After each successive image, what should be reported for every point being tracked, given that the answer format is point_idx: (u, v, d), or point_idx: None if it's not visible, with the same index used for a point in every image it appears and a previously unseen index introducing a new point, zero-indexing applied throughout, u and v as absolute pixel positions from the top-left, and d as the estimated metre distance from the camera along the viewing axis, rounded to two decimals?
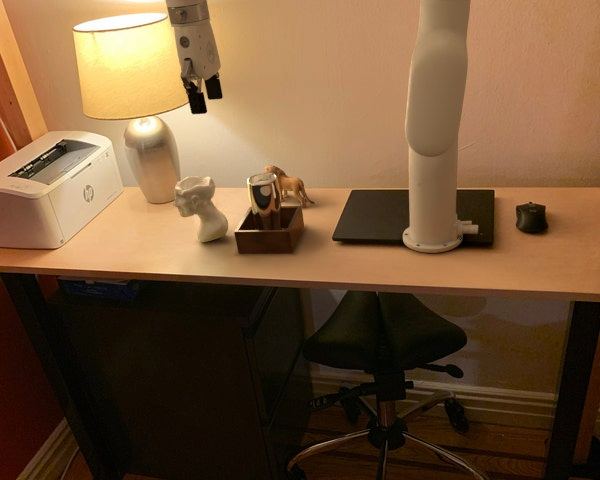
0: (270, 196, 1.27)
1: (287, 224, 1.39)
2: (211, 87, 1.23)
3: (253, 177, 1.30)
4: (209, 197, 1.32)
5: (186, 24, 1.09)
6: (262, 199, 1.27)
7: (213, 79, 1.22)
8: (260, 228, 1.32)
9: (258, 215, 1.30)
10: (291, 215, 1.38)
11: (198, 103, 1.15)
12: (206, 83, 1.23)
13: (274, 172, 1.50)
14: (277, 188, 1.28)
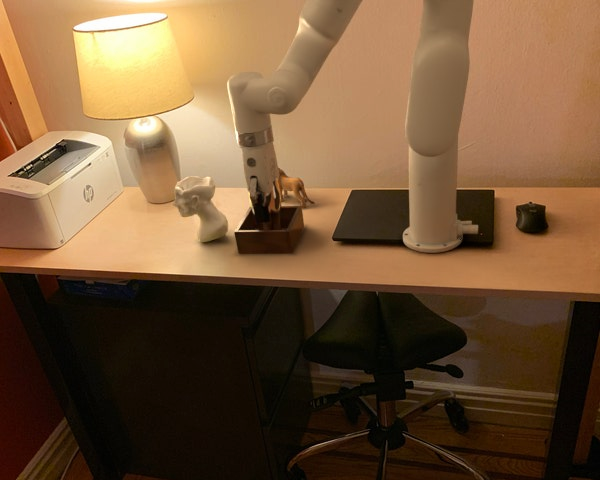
0: (270, 196, 1.27)
1: (287, 224, 1.39)
2: None
3: None
4: (209, 197, 1.32)
5: (253, 147, 1.20)
6: None
7: None
8: (260, 228, 1.32)
9: None
10: (291, 215, 1.38)
11: (263, 214, 1.27)
12: None
13: None
14: (277, 188, 1.28)
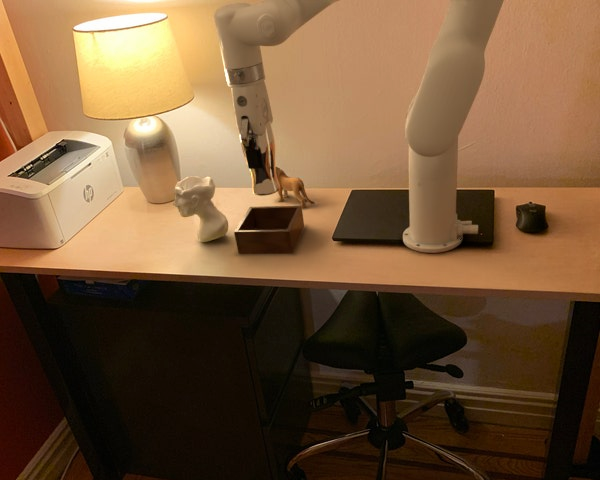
0: (263, 140, 1.20)
1: (287, 224, 1.39)
2: None
3: None
4: (209, 197, 1.32)
5: (243, 84, 1.13)
6: None
7: None
8: (253, 176, 1.25)
9: None
10: (291, 215, 1.38)
11: (256, 159, 1.20)
12: None
13: None
14: (270, 131, 1.21)
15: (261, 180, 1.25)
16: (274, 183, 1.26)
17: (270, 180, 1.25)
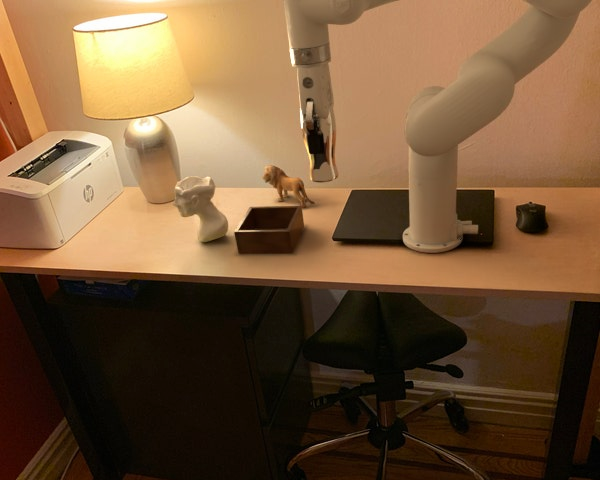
0: (326, 123, 1.15)
1: (287, 224, 1.39)
2: None
3: None
4: (209, 197, 1.32)
5: (310, 65, 1.08)
6: None
7: None
8: (312, 162, 1.21)
9: None
10: (291, 215, 1.38)
11: (318, 144, 1.16)
12: None
13: (274, 172, 1.50)
14: (333, 115, 1.16)
15: (320, 166, 1.20)
16: (333, 170, 1.22)
17: (330, 166, 1.21)
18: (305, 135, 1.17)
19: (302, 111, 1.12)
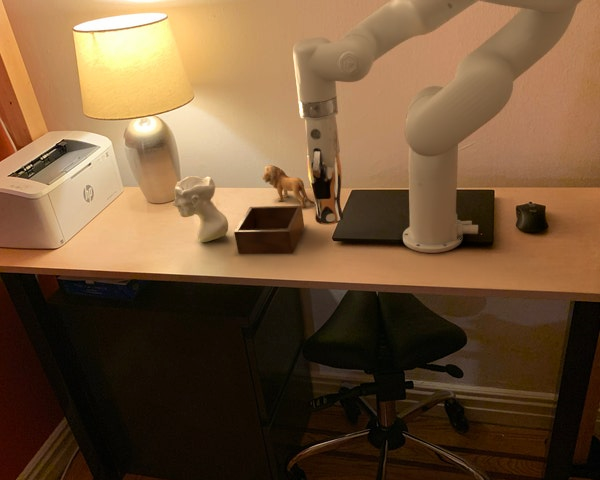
0: (332, 171, 1.20)
1: (287, 224, 1.39)
2: None
3: None
4: (209, 197, 1.32)
5: (318, 118, 1.14)
6: None
7: None
8: (318, 205, 1.26)
9: None
10: (291, 215, 1.38)
11: (324, 190, 1.21)
12: None
13: (274, 172, 1.50)
14: (339, 163, 1.21)
15: (326, 210, 1.26)
16: (338, 212, 1.27)
17: (335, 210, 1.26)
18: (312, 181, 1.23)
19: (310, 160, 1.18)
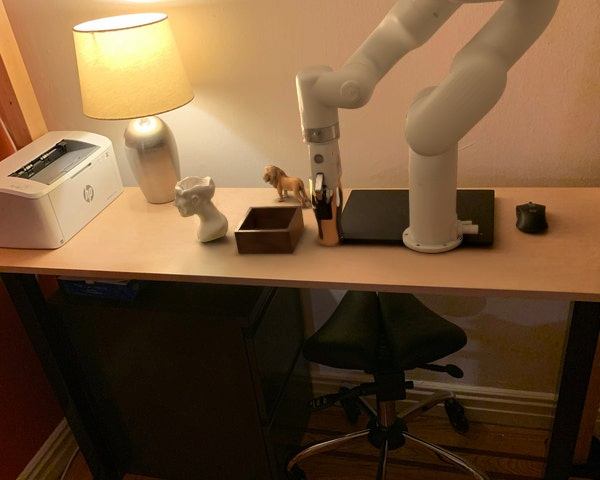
0: (333, 195, 1.23)
1: (287, 224, 1.39)
2: None
3: None
4: (209, 197, 1.32)
5: (321, 143, 1.17)
6: None
7: None
8: (320, 227, 1.29)
9: None
10: (291, 215, 1.38)
11: (326, 211, 1.22)
12: None
13: (274, 172, 1.50)
14: (340, 186, 1.24)
15: (328, 231, 1.29)
16: (340, 234, 1.30)
17: (336, 231, 1.29)
18: (314, 204, 1.26)
19: (313, 183, 1.20)
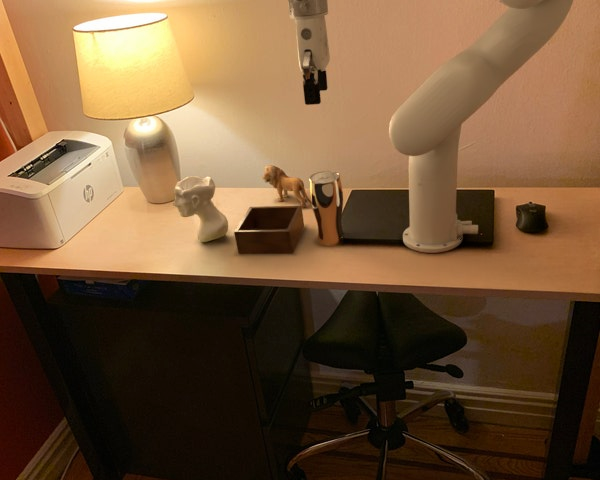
0: (333, 194, 1.23)
1: (287, 224, 1.39)
2: (317, 79, 1.26)
3: (314, 175, 1.26)
4: (209, 197, 1.32)
5: (308, 16, 1.12)
6: (325, 198, 1.24)
7: (320, 71, 1.25)
8: (320, 227, 1.29)
9: (320, 214, 1.26)
10: (291, 215, 1.38)
11: (314, 94, 1.18)
12: (313, 75, 1.26)
13: (274, 172, 1.50)
14: (340, 186, 1.24)
15: (328, 231, 1.29)
16: (340, 234, 1.30)
17: (336, 231, 1.29)
18: (314, 204, 1.26)
19: (300, 63, 1.16)
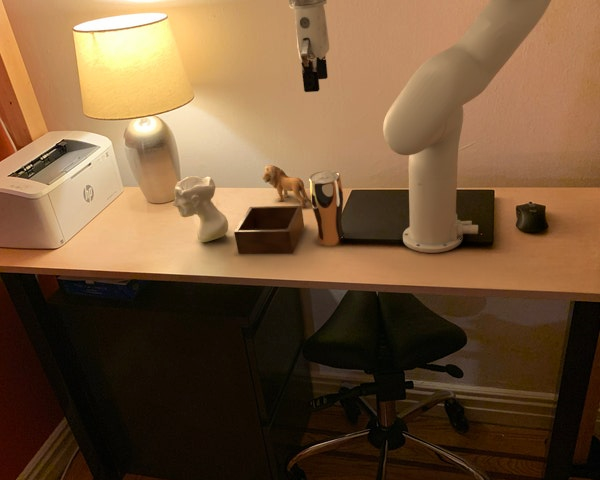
0: (333, 194, 1.23)
1: (287, 224, 1.39)
2: (318, 67, 1.30)
3: (314, 175, 1.26)
4: (209, 197, 1.32)
5: (307, 6, 1.16)
6: (325, 198, 1.24)
7: (320, 60, 1.29)
8: (320, 227, 1.29)
9: (320, 214, 1.26)
10: (291, 215, 1.38)
11: (312, 81, 1.22)
12: (313, 63, 1.30)
13: (274, 172, 1.50)
14: (340, 186, 1.24)
15: (328, 231, 1.29)
16: (340, 234, 1.30)
17: (336, 231, 1.29)
18: (314, 204, 1.26)
19: (299, 51, 1.20)
